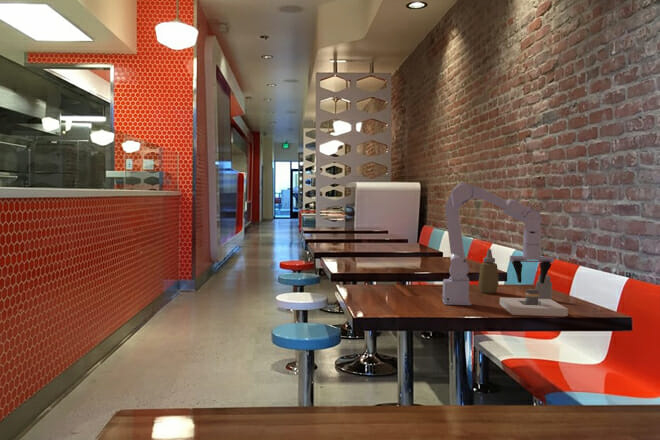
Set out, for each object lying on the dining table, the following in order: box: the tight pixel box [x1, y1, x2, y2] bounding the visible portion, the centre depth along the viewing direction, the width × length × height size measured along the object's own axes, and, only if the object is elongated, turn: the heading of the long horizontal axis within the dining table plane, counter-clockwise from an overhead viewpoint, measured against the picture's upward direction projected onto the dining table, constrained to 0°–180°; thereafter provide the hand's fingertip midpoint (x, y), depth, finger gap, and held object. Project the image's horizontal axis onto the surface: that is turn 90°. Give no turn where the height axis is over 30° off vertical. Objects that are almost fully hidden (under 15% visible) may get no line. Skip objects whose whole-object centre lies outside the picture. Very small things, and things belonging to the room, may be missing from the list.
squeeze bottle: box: [478, 248, 500, 295], centre depth 221 cm, size 8×8×18 cm
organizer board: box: [499, 297, 569, 317], centre depth 187 cm, size 18×18×2 cm
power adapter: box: [535, 271, 553, 300], centre depth 206 cm, size 3×5×12 cm, turn 58°
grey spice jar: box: [525, 288, 539, 305], centre depth 187 cm, size 4×4×7 cm
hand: (530, 282), depth 188 cm, fingers open, 7 cm apart
